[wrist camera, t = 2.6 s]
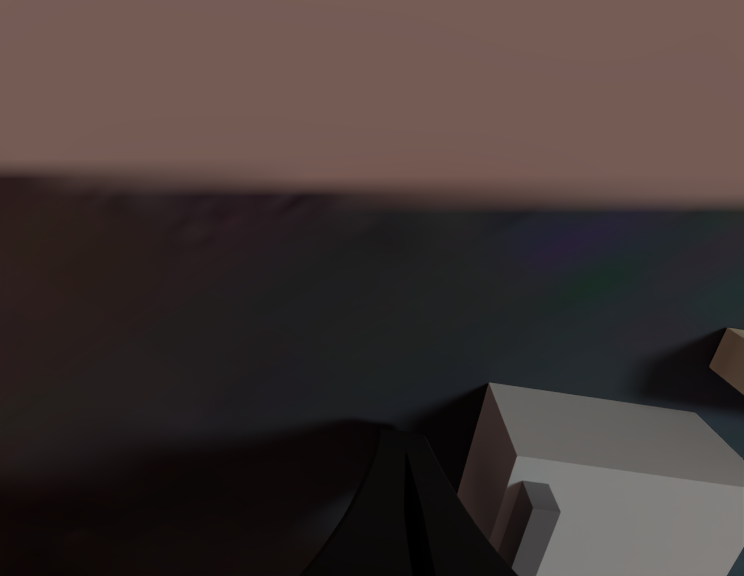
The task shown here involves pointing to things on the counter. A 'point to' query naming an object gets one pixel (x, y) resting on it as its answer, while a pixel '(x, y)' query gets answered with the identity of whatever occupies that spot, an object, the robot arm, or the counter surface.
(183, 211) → the counter surface
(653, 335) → the counter surface
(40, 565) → the counter surface
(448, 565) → the robot arm
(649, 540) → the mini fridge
